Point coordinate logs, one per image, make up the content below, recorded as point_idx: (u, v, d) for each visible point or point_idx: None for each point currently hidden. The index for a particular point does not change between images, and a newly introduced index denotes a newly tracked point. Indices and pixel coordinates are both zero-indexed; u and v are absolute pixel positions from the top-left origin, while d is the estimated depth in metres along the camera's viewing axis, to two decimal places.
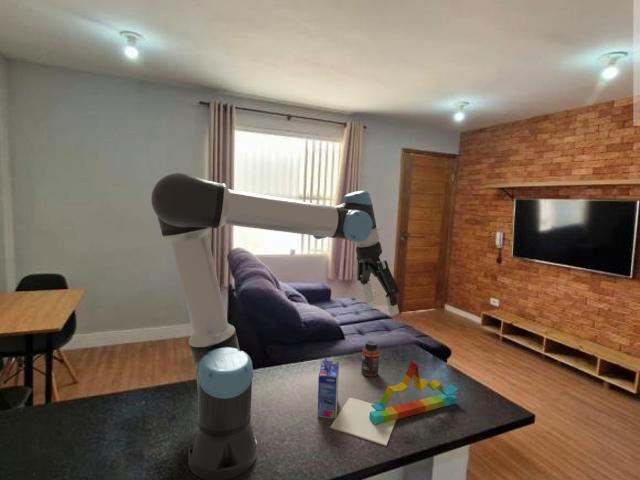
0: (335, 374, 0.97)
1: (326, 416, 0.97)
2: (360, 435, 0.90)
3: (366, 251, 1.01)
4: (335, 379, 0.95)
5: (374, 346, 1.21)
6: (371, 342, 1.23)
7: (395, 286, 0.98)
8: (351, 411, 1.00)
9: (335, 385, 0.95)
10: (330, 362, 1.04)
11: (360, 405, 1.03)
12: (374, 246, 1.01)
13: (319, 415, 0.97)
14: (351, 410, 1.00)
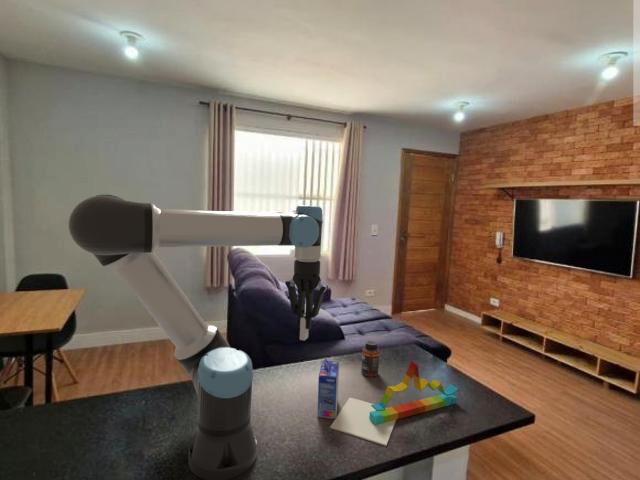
0: (335, 374, 0.97)
1: (326, 416, 0.97)
2: (360, 435, 0.90)
3: (313, 266, 0.97)
4: (335, 379, 0.95)
5: (374, 346, 1.21)
6: (371, 342, 1.23)
7: (318, 310, 1.01)
8: (351, 411, 1.00)
9: (335, 385, 0.95)
10: (330, 362, 1.04)
11: (360, 405, 1.03)
12: (318, 262, 0.99)
13: (319, 415, 0.97)
14: (351, 410, 1.00)
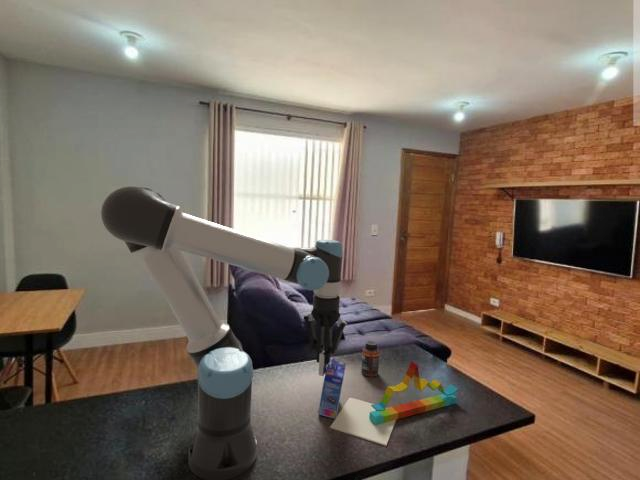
0: (342, 375, 0.96)
1: (327, 415, 0.97)
2: (360, 435, 0.90)
3: (333, 302, 0.96)
4: (341, 380, 0.95)
5: (374, 346, 1.21)
6: (371, 342, 1.23)
7: (337, 345, 1.00)
8: (351, 411, 1.00)
9: (340, 386, 0.95)
10: (337, 362, 1.04)
11: (360, 405, 1.03)
12: (338, 298, 0.98)
13: (320, 413, 0.97)
14: (351, 410, 1.00)
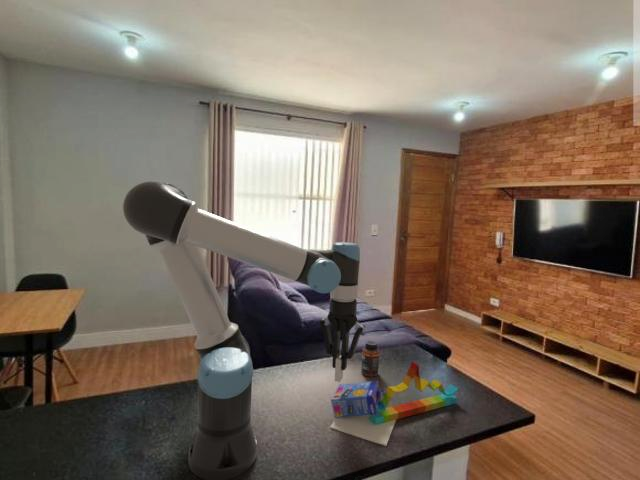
0: None
1: (334, 409, 0.96)
2: (360, 435, 0.90)
3: (350, 306, 0.94)
4: (374, 413, 0.93)
5: (374, 346, 1.21)
6: (371, 342, 1.23)
7: (354, 350, 0.98)
8: None
9: (368, 414, 0.94)
10: (379, 390, 1.01)
11: None
12: (355, 302, 0.96)
13: (332, 401, 0.96)
14: None
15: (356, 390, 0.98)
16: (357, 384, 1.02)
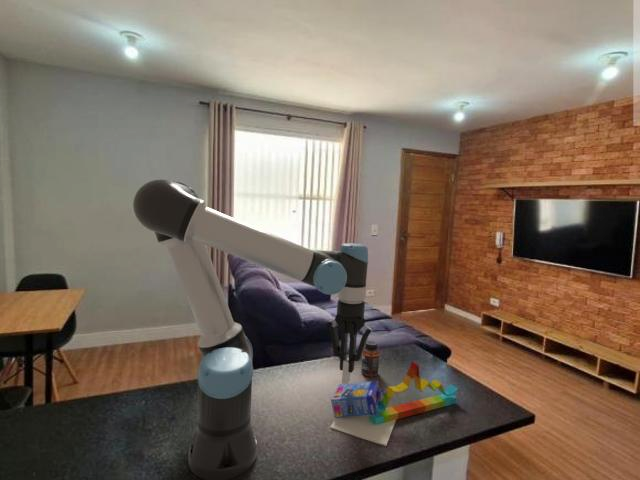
0: None
1: (334, 409, 0.96)
2: (360, 435, 0.90)
3: (358, 308, 0.93)
4: (374, 413, 0.93)
5: (374, 346, 1.21)
6: (371, 342, 1.23)
7: (362, 353, 0.97)
8: None
9: (368, 414, 0.94)
10: (379, 390, 1.01)
11: None
12: (363, 304, 0.95)
13: (332, 401, 0.96)
14: None
15: (356, 390, 0.98)
16: (357, 384, 1.02)
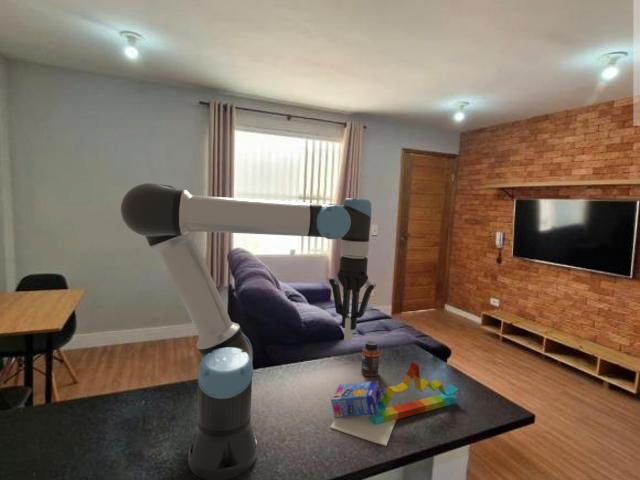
0: None
1: (334, 409, 0.96)
2: (360, 435, 0.90)
3: (361, 263, 0.92)
4: (374, 413, 0.93)
5: (374, 346, 1.21)
6: (371, 342, 1.23)
7: None
8: None
9: (368, 414, 0.94)
10: (379, 390, 1.01)
11: None
12: (366, 259, 0.94)
13: (332, 401, 0.96)
14: None
15: (356, 390, 0.98)
16: (357, 384, 1.02)
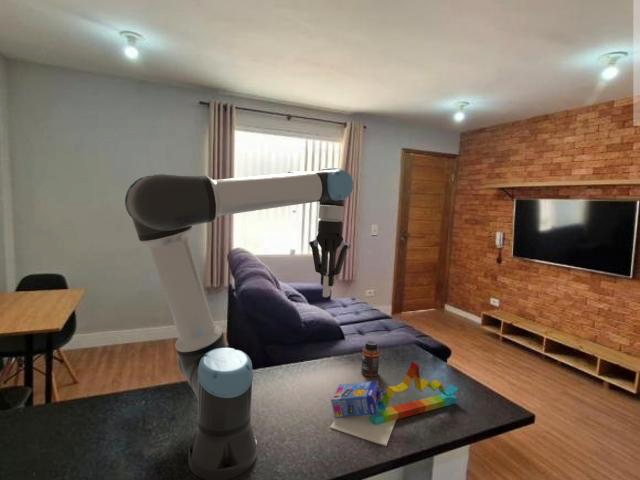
0: None
1: (334, 409, 0.96)
2: (360, 435, 0.90)
3: (336, 225, 1.03)
4: (374, 413, 0.93)
5: (374, 346, 1.21)
6: (371, 342, 1.23)
7: (340, 268, 1.07)
8: None
9: (368, 414, 0.94)
10: (379, 390, 1.01)
11: None
12: (341, 223, 1.05)
13: (332, 401, 0.96)
14: None
15: (356, 390, 0.98)
16: (357, 384, 1.02)
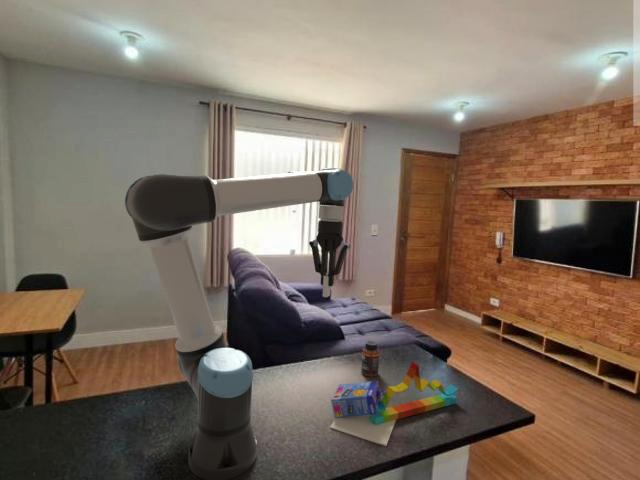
0: None
1: (334, 409, 0.96)
2: (360, 435, 0.90)
3: (336, 225, 1.03)
4: (374, 413, 0.93)
5: (374, 346, 1.21)
6: (371, 342, 1.23)
7: (340, 268, 1.07)
8: None
9: (368, 414, 0.94)
10: (379, 390, 1.01)
11: None
12: (341, 223, 1.05)
13: (332, 401, 0.96)
14: None
15: (356, 390, 0.98)
16: (357, 384, 1.02)
